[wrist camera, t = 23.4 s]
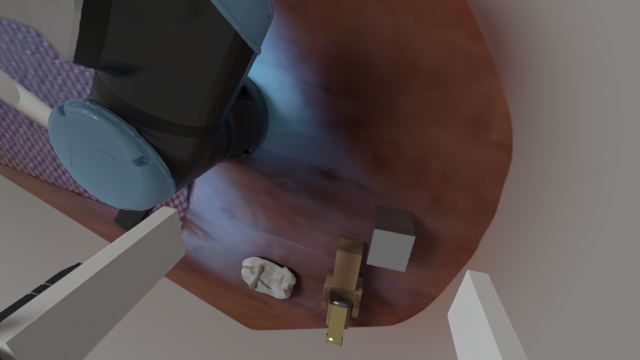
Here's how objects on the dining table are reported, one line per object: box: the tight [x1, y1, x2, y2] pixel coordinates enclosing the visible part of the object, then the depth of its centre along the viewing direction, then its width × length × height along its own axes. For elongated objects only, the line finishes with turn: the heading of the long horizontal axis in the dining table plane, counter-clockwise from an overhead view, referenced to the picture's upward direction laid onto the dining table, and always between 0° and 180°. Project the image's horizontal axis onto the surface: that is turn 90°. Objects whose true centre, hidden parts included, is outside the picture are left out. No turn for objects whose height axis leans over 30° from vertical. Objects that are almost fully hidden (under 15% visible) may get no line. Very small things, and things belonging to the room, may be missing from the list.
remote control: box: [114, 209, 149, 232], centre depth 59 cm, size 5×2×15 cm
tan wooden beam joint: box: [321, 236, 364, 329], centre depth 52 cm, size 7×20×7 cm, turn 174°
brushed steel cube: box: [367, 205, 416, 272], centre depth 44 cm, size 6×7×7 cm
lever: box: [326, 298, 352, 346], centre depth 51 cm, size 4×2×11 cm
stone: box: [242, 257, 296, 299], centre depth 58 cm, size 12×9×3 cm
